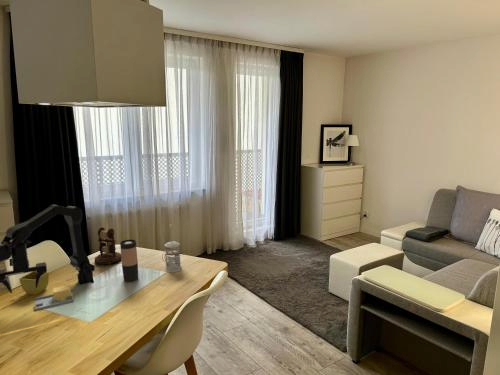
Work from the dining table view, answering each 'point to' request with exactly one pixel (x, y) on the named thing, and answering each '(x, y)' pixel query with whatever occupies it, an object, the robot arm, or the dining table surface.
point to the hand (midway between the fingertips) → (24, 289)
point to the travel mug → (129, 260)
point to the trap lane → (50, 301)
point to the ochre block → (61, 292)
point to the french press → (176, 259)
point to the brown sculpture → (107, 247)
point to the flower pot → (34, 283)
